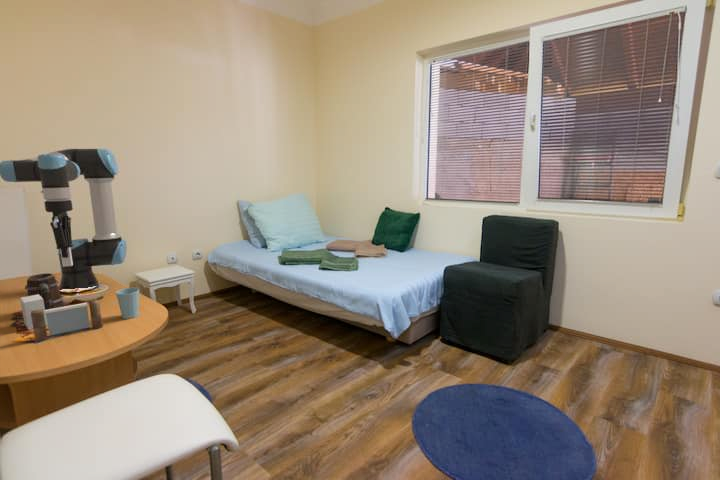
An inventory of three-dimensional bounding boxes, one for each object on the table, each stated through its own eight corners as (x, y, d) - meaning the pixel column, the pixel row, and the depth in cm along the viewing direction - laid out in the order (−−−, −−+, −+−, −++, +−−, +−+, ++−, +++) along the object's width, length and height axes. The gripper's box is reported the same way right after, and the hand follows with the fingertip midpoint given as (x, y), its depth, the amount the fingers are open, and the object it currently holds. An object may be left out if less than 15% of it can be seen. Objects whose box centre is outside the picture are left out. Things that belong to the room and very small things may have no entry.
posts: (102, 325, 143) (98, 299, 141) (102, 327, 140) (99, 301, 138) (36, 338, 132) (31, 310, 130) (35, 341, 129) (30, 313, 127)
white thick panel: (90, 325, 140) (87, 302, 138) (90, 327, 139) (87, 303, 137) (48, 334, 133) (44, 310, 131) (48, 335, 132) (44, 311, 130)
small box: (48, 325, 142) (43, 298, 140) (28, 330, 138) (23, 302, 136) (43, 320, 147) (39, 293, 145) (24, 324, 143) (19, 297, 141)
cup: (140, 318, 149) (137, 292, 147) (117, 321, 146) (114, 295, 144) (142, 311, 156) (139, 286, 154) (120, 314, 153) (117, 289, 151)
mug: (25, 312, 155) (19, 276, 152) (63, 304, 164) (57, 270, 161) (30, 323, 144) (23, 284, 141) (70, 314, 153) (64, 278, 150)
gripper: (51, 198, 139) (61, 262, 144) (37, 202, 127) (48, 271, 132) (76, 197, 142) (85, 260, 146) (64, 201, 130) (74, 269, 134)
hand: (67, 265), depth 139 cm, fingers closed
